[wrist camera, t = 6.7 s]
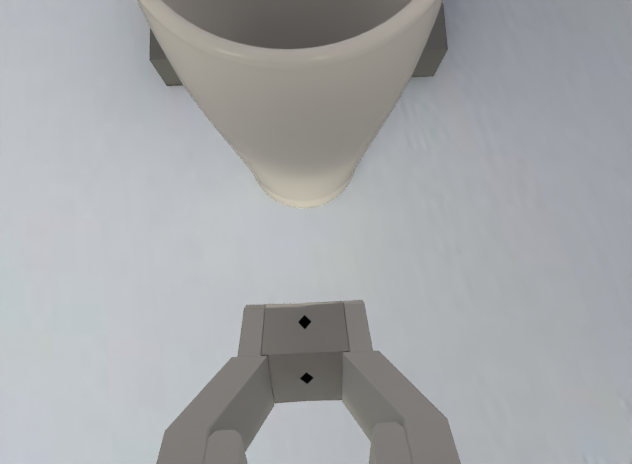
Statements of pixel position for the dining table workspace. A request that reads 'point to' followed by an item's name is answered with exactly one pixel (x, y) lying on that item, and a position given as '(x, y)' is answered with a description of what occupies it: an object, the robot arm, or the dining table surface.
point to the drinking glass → (295, 80)
